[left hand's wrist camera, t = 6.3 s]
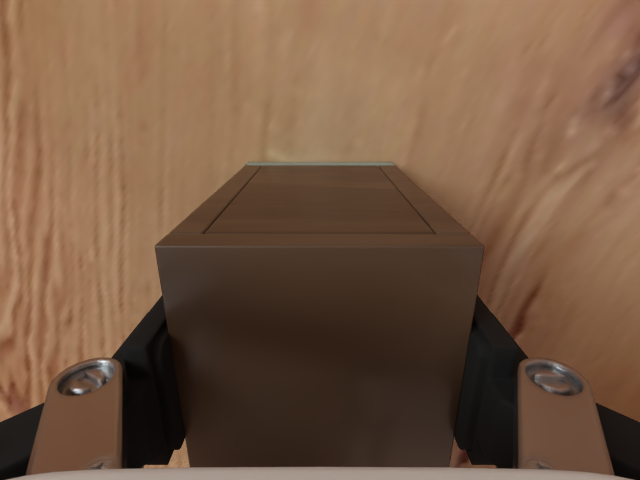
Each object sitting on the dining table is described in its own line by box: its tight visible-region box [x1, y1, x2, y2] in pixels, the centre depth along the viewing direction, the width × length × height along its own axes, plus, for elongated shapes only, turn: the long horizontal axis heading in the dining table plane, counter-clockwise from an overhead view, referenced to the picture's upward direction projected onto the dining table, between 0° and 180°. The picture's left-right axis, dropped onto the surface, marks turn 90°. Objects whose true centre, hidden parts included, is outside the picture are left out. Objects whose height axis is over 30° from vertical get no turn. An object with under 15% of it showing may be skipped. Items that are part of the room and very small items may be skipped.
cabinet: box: [155, 162, 484, 468], centre depth 16 cm, size 17×7×11 cm, turn 0°
